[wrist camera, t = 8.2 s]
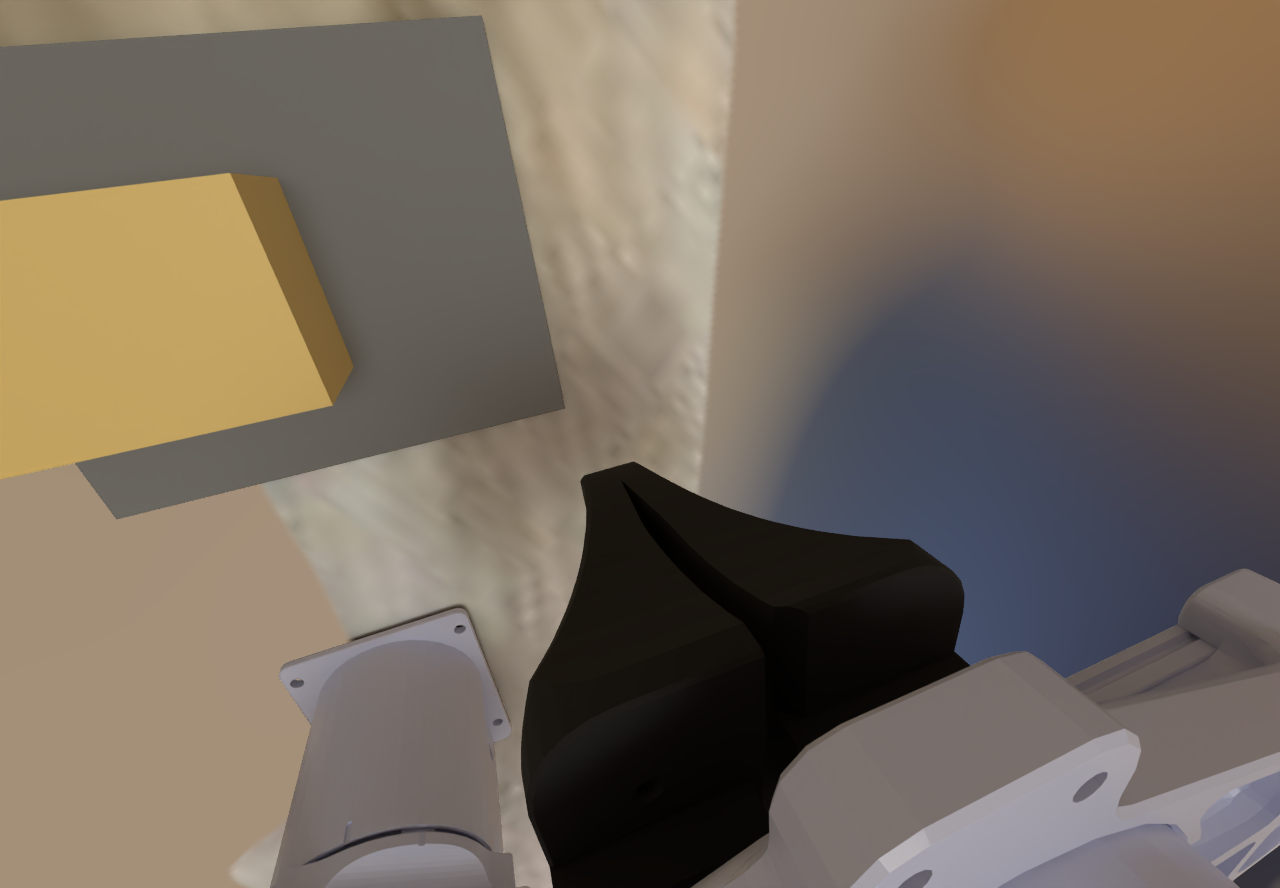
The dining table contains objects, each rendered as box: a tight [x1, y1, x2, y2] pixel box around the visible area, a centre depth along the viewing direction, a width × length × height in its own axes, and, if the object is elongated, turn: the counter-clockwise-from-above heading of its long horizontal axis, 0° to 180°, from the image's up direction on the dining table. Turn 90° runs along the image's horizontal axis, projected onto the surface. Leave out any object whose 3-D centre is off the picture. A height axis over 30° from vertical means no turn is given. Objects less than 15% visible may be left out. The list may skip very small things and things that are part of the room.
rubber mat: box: [0, 16, 565, 519], centre depth 17 cm, size 13×16×1 cm
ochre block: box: [0, 173, 354, 479], centre depth 14 cm, size 6×4×9 cm
